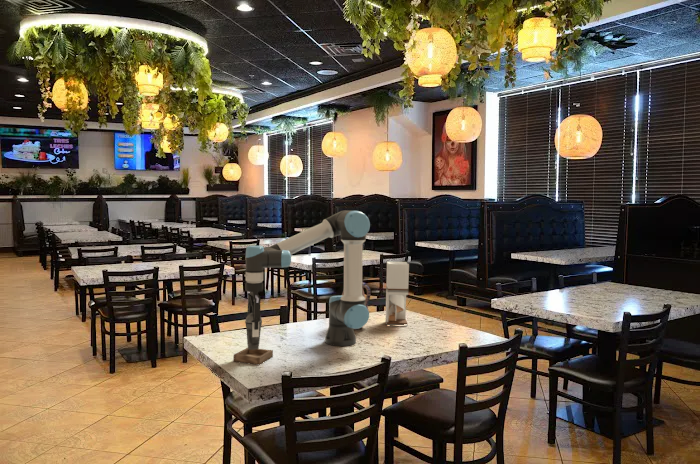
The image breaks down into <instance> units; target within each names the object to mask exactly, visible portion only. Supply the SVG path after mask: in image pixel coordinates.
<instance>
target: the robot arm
mask: <svg viewBox="0 0 700 464" xmlns="http://www.w3.org/2000/svg"><path fill="white" fill-rule="evenodd" d="M370 227H371V222H370V219H369V217H368V216H367V215H366V213H363V212H362V211H359V210H348V209H347V210H346V209H345V210H340V211H338V212H336V213H335V214H332V215H331V216H328V217H326V218H324V219H323V220H322V222H321V223H318V224H316V225H313V226H311V227H310V228H307V229H304V230H303V231H301V232H299V233H297V234H295V235H292V236H290V237H287V238H286V239H283V240H281V241H279V242H277V243H274V244H273V245H271V246H265V247H264V246H263V245H248V246H247V247H246V248H245V256H244V257H245V274H243V275H244V277H245V284H244V286H245V287H244V289H245V292H247V313H246V315H247V316H248V315H249V314H250V313H253V321H252V337H259V321H261V319H262V317H261V318H260V316H261V299H262V298H261V297H260V295H259V292H260V293H261V292H263V290H264V282H263V281H264V269H266V268H282V269H283V268H288V267H290V266H291V263H292V255H293V254H296V253H298V252H299V251H302V250H305V249H306V248H308V247H310V246H312V245H314V244H317V243H320V242H322V241H323V240H325V239H328V238H331V239H333V238H334V237H335V238H336V237H337V236H340V241H341V242H342V244H343V290H344V295H342V294H341V295H332V296H330V297H329V302H328V328H327V331H326V334H325V337H324V338H325V339H324V342H325V344H327V345H330V346H335V347H336V346H337V347H347V346H352V345H355V344H357V337H356V333H355V331H354V330H359V329H361V328H363V327H364V326H365V325H366V324H367V323H368V322H369V319H370V311H369V308H368V309H367V307H366V306H365V298H366V296H365V297H364V296H363V295H362V282H363V244H364V243H365V242H366V239H367V234H368V233H369V231H370ZM256 318H257V319H256ZM358 328H359V329H358Z"/></svg>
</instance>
